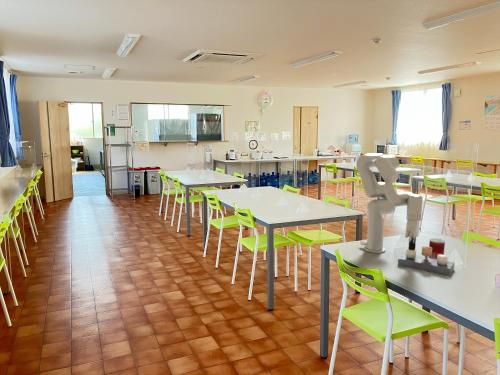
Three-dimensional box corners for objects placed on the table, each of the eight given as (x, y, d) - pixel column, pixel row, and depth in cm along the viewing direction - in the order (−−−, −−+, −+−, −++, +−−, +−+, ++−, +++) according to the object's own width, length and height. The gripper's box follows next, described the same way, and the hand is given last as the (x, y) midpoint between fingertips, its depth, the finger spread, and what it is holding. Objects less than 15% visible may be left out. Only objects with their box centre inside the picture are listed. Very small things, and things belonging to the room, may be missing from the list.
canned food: (444, 261, 234) (446, 242, 233) (429, 260, 236) (431, 241, 234) (441, 257, 242) (443, 239, 240) (427, 256, 243) (428, 238, 242)
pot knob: (419, 261, 223) (421, 247, 222) (422, 258, 227) (423, 245, 225) (429, 263, 220) (430, 249, 219) (432, 260, 224) (433, 246, 223)
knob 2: (435, 269, 219) (436, 256, 217) (437, 267, 223) (438, 253, 221) (445, 271, 216) (446, 258, 214) (447, 269, 220) (448, 255, 218)
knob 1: (404, 262, 228) (405, 249, 227) (407, 260, 232) (407, 247, 231) (413, 264, 225) (414, 251, 224) (416, 262, 229) (417, 249, 228)
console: (397, 265, 227) (398, 258, 226) (404, 259, 236) (404, 253, 236) (449, 276, 211) (449, 268, 211) (453, 269, 221) (454, 262, 220)
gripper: (410, 213, 232) (408, 245, 235) (402, 218, 220) (400, 251, 223) (424, 215, 228) (422, 247, 231) (417, 220, 216) (415, 254, 219)
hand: (411, 249), depth 227 cm, fingers closed
